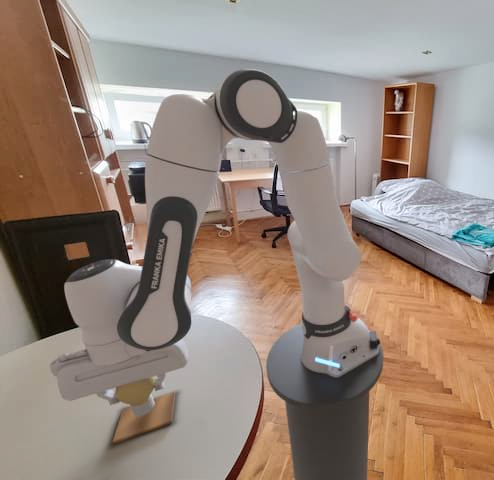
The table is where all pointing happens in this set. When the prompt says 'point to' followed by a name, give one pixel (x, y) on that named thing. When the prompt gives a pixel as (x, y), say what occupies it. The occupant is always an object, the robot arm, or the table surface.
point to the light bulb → (137, 395)
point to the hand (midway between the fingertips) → (139, 394)
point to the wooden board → (145, 418)
